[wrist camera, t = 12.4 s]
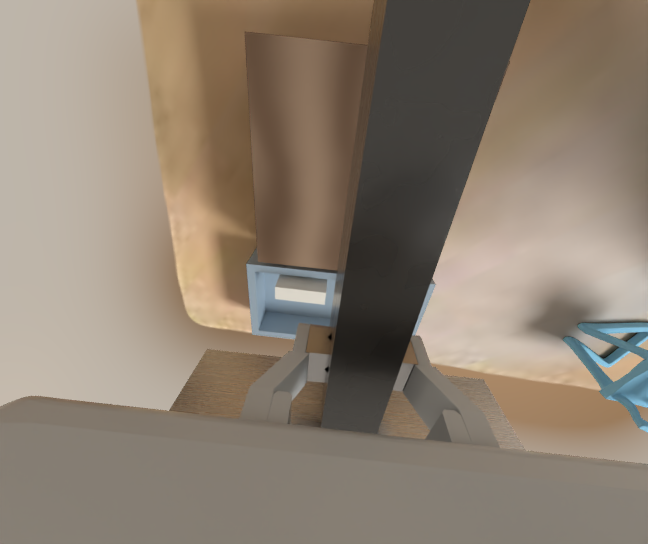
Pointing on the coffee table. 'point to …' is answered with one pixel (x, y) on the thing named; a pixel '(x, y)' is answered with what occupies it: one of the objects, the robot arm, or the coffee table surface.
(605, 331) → the light blue open frame
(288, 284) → the tile
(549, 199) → the coffee table surface
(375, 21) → the scraper
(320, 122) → the plate
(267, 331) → the box
